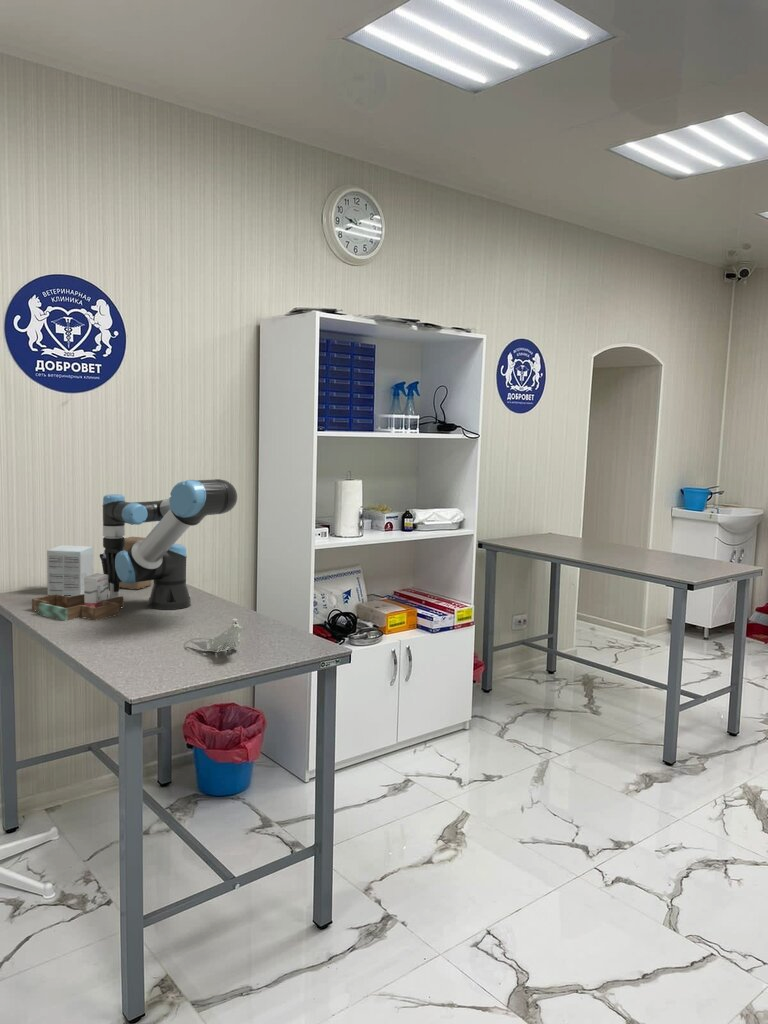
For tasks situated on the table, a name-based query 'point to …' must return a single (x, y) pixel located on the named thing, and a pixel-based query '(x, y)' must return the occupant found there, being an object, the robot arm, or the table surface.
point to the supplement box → (68, 569)
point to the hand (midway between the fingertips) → (113, 600)
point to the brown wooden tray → (75, 607)
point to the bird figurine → (222, 639)
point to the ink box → (95, 589)
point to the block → (128, 544)
